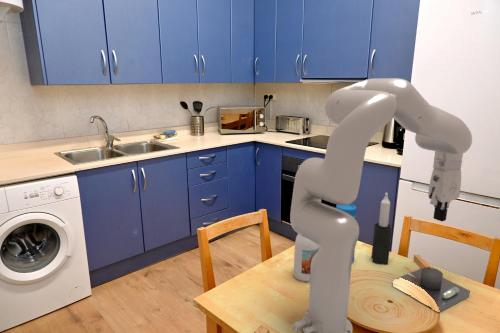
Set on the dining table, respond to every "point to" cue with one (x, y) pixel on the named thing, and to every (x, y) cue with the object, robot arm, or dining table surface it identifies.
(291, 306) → the dining table surface
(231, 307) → the dining table surface
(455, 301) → the base
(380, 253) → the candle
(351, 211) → the beverage bottle
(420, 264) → the grey rubber mallet
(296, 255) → the milk bottle
